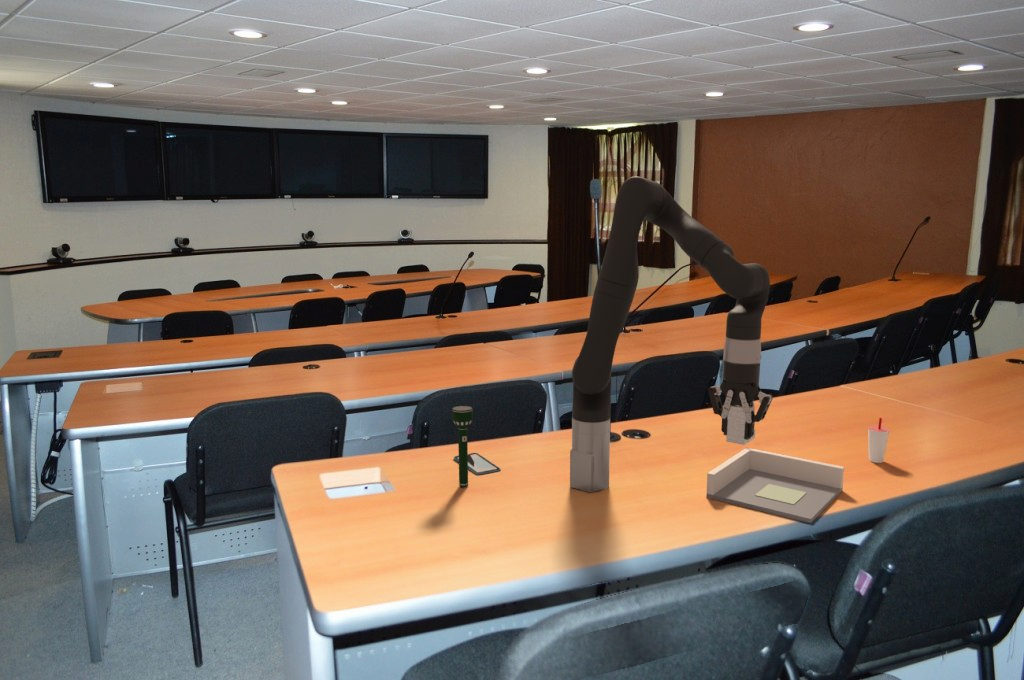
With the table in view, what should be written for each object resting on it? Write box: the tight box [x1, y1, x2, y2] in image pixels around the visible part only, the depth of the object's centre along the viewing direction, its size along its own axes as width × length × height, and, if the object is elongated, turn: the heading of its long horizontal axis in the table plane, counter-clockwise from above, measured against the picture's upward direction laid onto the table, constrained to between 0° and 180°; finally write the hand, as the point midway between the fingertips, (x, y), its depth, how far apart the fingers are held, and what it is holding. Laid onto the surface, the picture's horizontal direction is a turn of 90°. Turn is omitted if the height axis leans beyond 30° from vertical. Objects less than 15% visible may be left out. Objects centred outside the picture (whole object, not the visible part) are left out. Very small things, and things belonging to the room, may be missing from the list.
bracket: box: [725, 405, 756, 446], centre depth 163 cm, size 6×4×8 cm, turn 141°
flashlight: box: [451, 404, 474, 489], centre depth 183 cm, size 5×5×20 cm
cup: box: [867, 417, 891, 464], centre depth 201 cm, size 5×5×12 cm
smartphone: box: [453, 452, 501, 476], centre depth 201 cm, size 7×1×15 cm
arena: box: [706, 447, 845, 524], centre depth 179 cm, size 24×24×6 cm
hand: (737, 436), depth 162 cm, fingers closed on bracket, 4 cm apart
